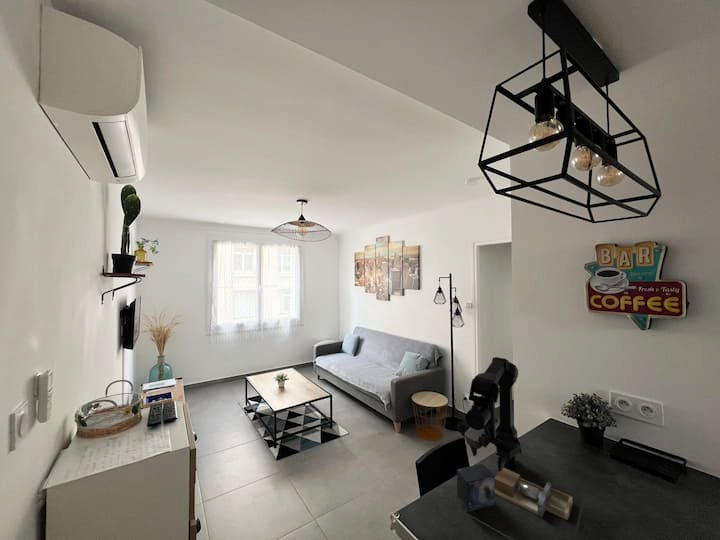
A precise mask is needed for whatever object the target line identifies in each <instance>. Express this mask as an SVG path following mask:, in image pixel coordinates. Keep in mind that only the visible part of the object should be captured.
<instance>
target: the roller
mask: <svg viewBox="0 0 720 540" xmlns="http://www.w3.org/2000/svg"><path fill="white" fill-rule="evenodd" d="M520 494H522V495H525V496H527V497H529V498H531V499H533V500H535V501H538V499H539V489H538V488H535V487H533V486H531V485H529V484H526V483H524V482H521V484H520Z"/></svg>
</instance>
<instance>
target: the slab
mask: <svg viewBox="0 0 720 540" xmlns="http://www.w3.org/2000/svg"><path fill="white" fill-rule="evenodd" d="M520 478H521V474H519V473H517V472H515V471H512V470H510V469H509V468H506V467H503V469H502V471H501V472H500V471H499V470H498V472H497V474H496V475H495V489H496V490H499V491H501V492H503V493H505V494H507V495H509V496H511V497H514V495H515V493H516V491H517V490H518V488H519V486H520Z"/></svg>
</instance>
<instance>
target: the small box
mask: <svg viewBox="0 0 720 540" xmlns="http://www.w3.org/2000/svg"><path fill="white" fill-rule="evenodd" d="M495 477H496V475H495V474H493V472H492V471H491V470H489V468H488V467H487V466H485V464H483V463H480V464H475V465H469V466H465V467H462V468H461V467H460V468H457V469H456V499H457V501H458V502H459V503H460V504H461V506H462V507H463V509H465V511H466V514H469V513H470V512H475V511H477V510H478V511H479V510H482V509H486V508H489V507H492V506H495V505H496V500H495V498H496V495H495Z"/></svg>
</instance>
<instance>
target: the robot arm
mask: <svg viewBox="0 0 720 540" xmlns="http://www.w3.org/2000/svg"><path fill="white" fill-rule="evenodd" d="M518 377H519V370H518V367H517V365H516V364H514V363H512V362H510V361H509V359H506V358H503V357H499V356H498V357H497V356H495V357H492V359H491V362H490V364H489V366H488V367H487V368H486V369H485V371H484V372H483V373H482V372H481V373H477V375H476V376H475V375H474V377H473V378H472V380H471V385H470V389H469V395H468V401H471V402H472V403H473V404H472V406H471V408H470V409H469V410H468V411H467V412H466V414H465V420H464V421H462V422H460V423H458V426H457V432H458V433H460V434H461V436H462V437H464V438H465V441H466V444H467V445H469V448H470V450H471V453H472V455H473V457H476V456H477V453H478V450H479V449H481V448H482V447H483V448H487V447H488V446H489V444H493V445H494V447H495V448H496V453H495V455H496V457H497V465H498V466H497V468H498V472H499V471H500V472H501V471H502V469H503V468H506V469H511V470H513V471H515V470H516V469H517V467H518V466H519V464H520V461H518V460H517V455H519V454H522V453H523V448H522V442H521V440H520V438H519V435H518V430H517V429H516V427H515V426H514V425H515V424H513V422H514V421H513V417H514V415H513V386H514V385H515V383H516V382H517V379H518ZM498 399H499V402H498ZM496 403H499V419H498V418H496ZM498 423H499V424H498ZM496 424H498V426H497V427H496Z"/></svg>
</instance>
